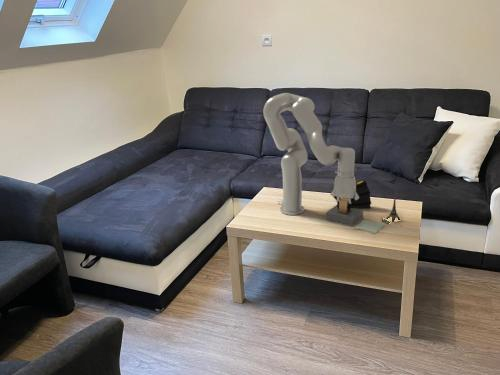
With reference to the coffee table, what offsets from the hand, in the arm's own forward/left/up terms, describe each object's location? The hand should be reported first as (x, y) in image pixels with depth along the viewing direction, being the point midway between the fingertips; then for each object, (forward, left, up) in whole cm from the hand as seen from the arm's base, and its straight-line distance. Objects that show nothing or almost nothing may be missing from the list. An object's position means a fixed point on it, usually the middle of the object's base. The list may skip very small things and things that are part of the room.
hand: (344, 209), depth 210 cm
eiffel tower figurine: (+20, +12, -6) cm, 24 cm away
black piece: (-1, +17, -5) cm, 18 cm away
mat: (+14, -2, -5) cm, 15 cm away
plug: (0, 0, -5) cm, 5 cm away
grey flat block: (0, 0, -5) cm, 5 cm away
